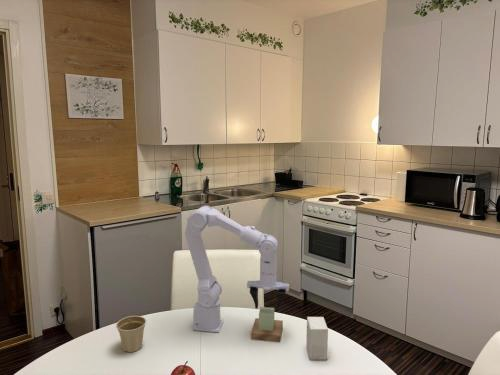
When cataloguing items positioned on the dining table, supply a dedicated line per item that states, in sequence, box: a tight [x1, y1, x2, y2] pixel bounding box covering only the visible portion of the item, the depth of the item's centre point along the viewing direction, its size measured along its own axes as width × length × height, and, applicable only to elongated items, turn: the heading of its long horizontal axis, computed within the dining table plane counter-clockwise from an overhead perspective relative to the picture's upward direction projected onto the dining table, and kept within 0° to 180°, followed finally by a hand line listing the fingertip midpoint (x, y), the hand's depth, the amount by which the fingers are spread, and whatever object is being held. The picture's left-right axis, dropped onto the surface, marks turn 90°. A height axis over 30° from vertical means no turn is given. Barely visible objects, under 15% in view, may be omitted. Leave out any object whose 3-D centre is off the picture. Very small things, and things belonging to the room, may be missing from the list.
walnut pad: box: [250, 317, 284, 343], centre depth 133 cm, size 10×10×3 cm
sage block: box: [258, 306, 275, 331], centre depth 132 cm, size 5×5×6 cm
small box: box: [306, 316, 329, 361], centre depth 121 cm, size 8×6×10 cm
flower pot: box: [115, 315, 147, 353], centre depth 124 cm, size 9×9×9 cm
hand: (267, 308), depth 132 cm, fingers open, 7 cm apart
